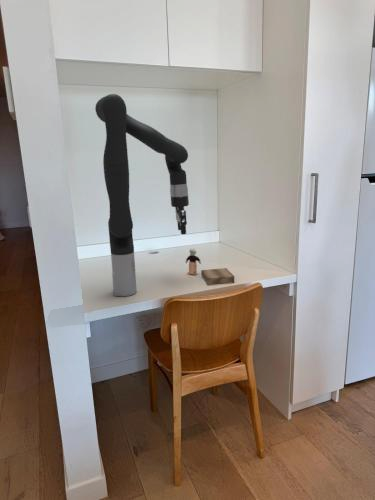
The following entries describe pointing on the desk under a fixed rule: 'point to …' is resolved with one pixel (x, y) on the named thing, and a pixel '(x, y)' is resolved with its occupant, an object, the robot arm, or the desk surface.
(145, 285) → the desk surface
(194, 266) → the grandmother figurine
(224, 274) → the walnut plinth
